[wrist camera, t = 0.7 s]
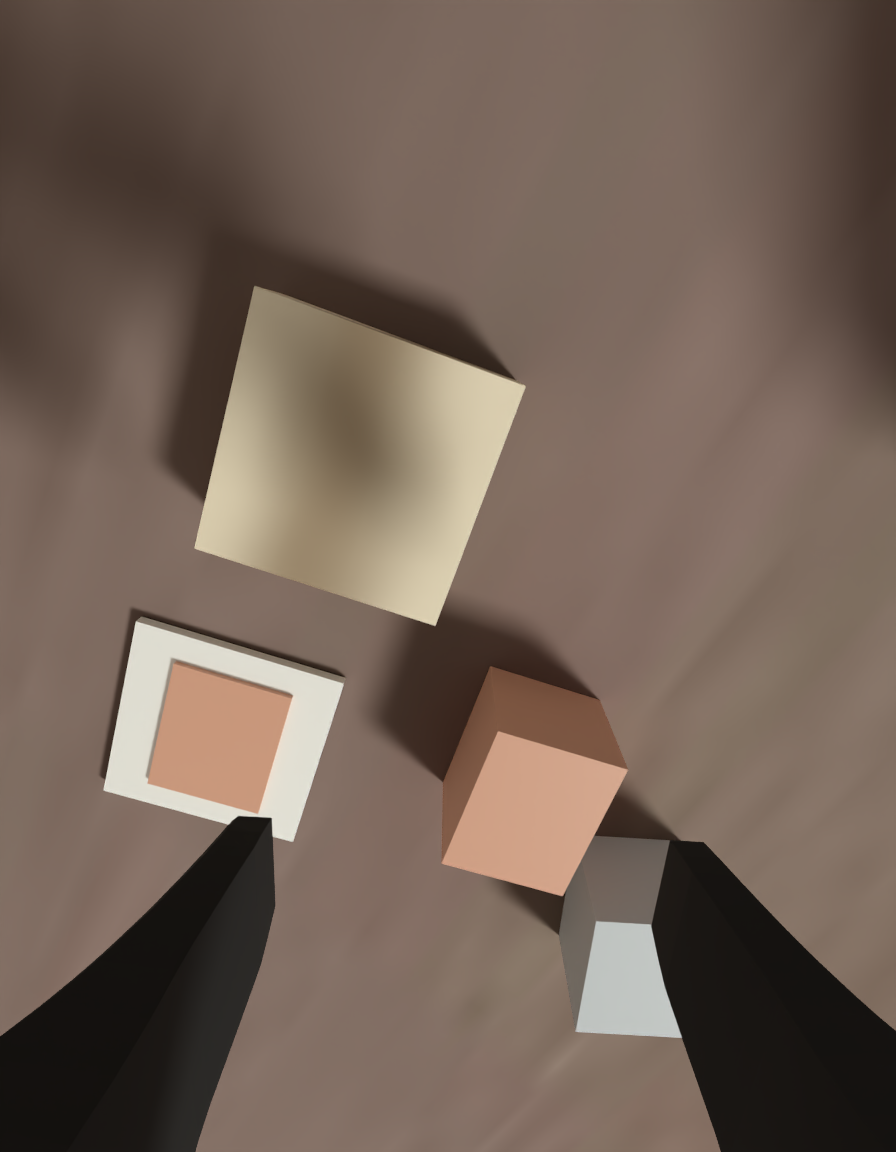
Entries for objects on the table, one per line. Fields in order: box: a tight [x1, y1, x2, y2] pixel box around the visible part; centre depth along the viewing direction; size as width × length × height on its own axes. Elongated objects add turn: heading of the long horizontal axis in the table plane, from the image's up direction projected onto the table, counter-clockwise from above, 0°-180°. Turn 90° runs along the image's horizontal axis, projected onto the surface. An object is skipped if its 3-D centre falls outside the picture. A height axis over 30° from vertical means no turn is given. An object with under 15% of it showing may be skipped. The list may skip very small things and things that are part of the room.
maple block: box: [195, 286, 526, 626], centre depth 19 cm, size 7×7×3 cm
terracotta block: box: [442, 666, 628, 896], centre depth 21 cm, size 4×5×4 cm
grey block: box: [559, 836, 682, 1038], centre depth 24 cm, size 4×5×4 cm
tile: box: [104, 616, 346, 842], centre depth 23 cm, size 7×7×1 cm
